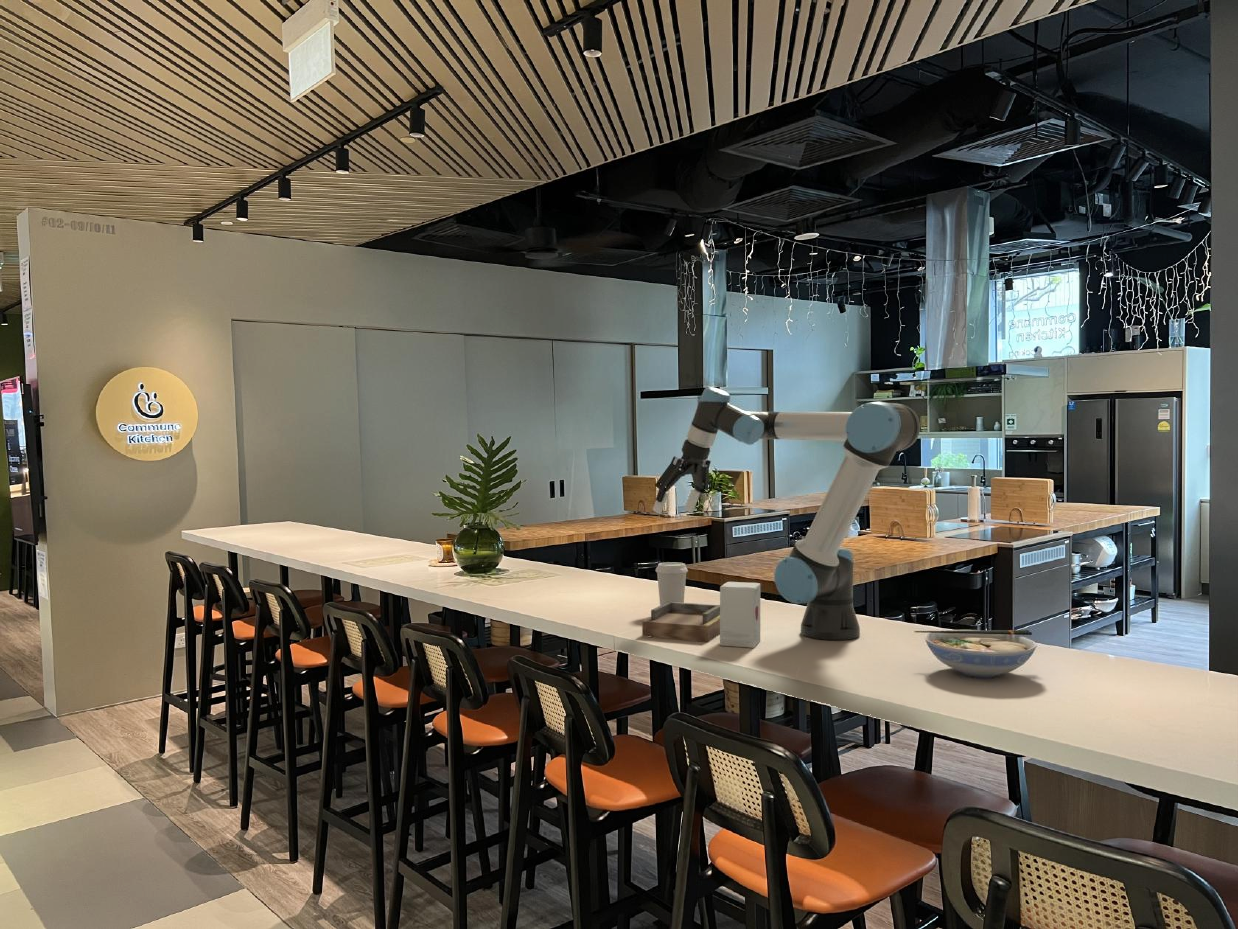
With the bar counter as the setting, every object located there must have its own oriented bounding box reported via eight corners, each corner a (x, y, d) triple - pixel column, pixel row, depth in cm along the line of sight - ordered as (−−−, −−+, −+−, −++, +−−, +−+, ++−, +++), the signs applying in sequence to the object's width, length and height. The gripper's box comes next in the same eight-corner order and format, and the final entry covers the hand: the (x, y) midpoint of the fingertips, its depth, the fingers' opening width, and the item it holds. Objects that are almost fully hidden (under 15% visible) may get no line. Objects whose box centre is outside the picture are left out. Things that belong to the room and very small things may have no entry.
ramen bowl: (930, 686, 186) (930, 646, 186) (910, 660, 208) (910, 624, 208) (1058, 689, 182) (1058, 649, 182) (1023, 662, 205) (1023, 627, 205)
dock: (728, 628, 245) (728, 604, 245) (708, 642, 228) (708, 616, 228) (665, 623, 252) (665, 600, 252) (642, 636, 235) (642, 611, 235)
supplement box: (755, 648, 221) (754, 587, 220) (719, 646, 224) (719, 586, 223) (761, 641, 229) (761, 582, 229) (726, 638, 232) (726, 580, 232)
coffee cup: (688, 612, 270) (688, 562, 269) (687, 618, 260) (687, 566, 260) (656, 611, 270) (656, 561, 270) (654, 617, 261) (654, 566, 261)
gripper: (717, 438, 257) (691, 504, 263) (659, 435, 239) (633, 506, 246) (736, 449, 253) (710, 516, 259) (678, 446, 235) (652, 518, 241)
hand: (672, 511), depth 252 cm, fingers open, 13 cm apart
